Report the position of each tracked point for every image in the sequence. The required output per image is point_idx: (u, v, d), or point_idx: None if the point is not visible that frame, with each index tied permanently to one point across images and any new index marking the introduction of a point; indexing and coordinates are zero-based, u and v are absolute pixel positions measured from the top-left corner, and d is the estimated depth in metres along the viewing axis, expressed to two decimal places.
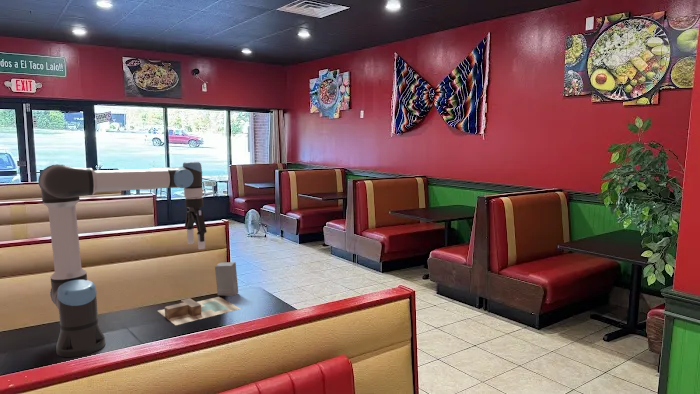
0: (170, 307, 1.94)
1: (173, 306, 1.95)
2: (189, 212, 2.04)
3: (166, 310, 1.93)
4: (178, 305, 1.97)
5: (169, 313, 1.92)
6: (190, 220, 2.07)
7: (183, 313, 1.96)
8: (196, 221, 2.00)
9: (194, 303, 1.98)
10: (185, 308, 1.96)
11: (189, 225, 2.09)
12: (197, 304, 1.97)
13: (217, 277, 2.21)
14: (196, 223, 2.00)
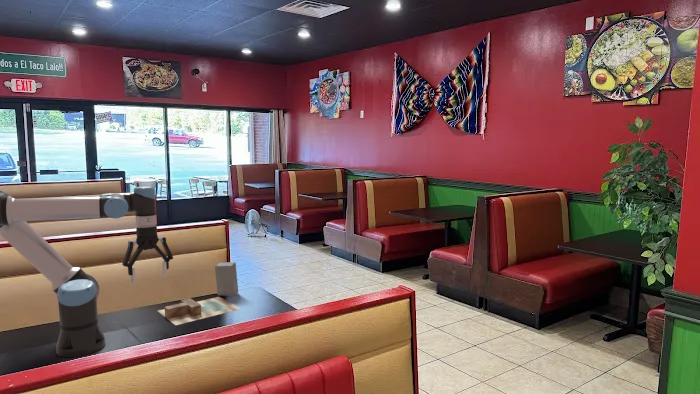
0: (170, 307, 1.94)
1: (173, 306, 1.95)
2: None
3: (166, 310, 1.93)
4: (178, 305, 1.97)
5: (169, 313, 1.92)
6: (156, 250, 1.90)
7: (183, 313, 1.96)
8: (135, 252, 1.85)
9: (194, 303, 1.98)
10: (185, 308, 1.96)
11: (161, 256, 1.91)
12: (197, 304, 1.97)
13: (217, 277, 2.21)
14: (134, 254, 1.85)
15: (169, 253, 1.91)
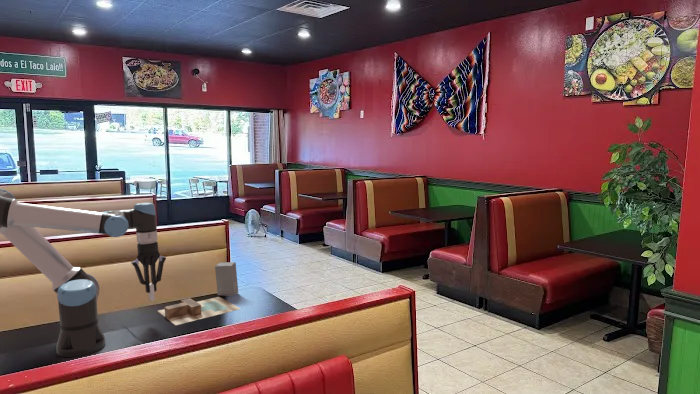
0: (170, 307, 1.94)
1: (173, 306, 1.95)
2: None
3: (166, 310, 1.93)
4: (178, 305, 1.97)
5: (169, 313, 1.92)
6: (150, 268, 1.89)
7: (183, 313, 1.96)
8: None
9: (194, 303, 1.98)
10: (185, 308, 1.96)
11: (151, 276, 1.89)
12: (197, 304, 1.97)
13: (217, 277, 2.21)
14: (144, 271, 1.88)
15: (160, 274, 1.89)
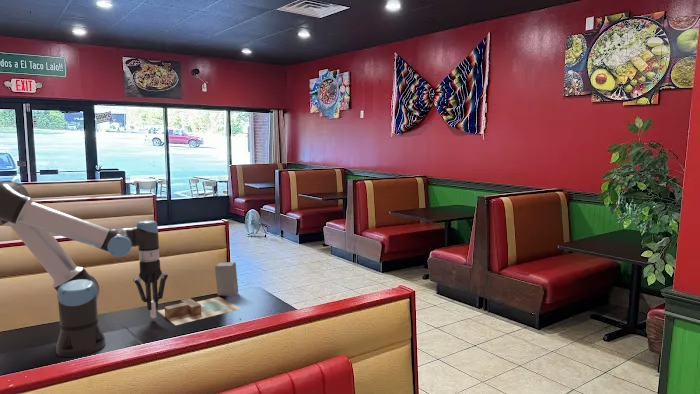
0: (170, 307, 1.94)
1: (173, 306, 1.95)
2: None
3: (166, 310, 1.93)
4: (178, 305, 1.97)
5: (169, 313, 1.92)
6: (152, 285, 1.90)
7: (183, 313, 1.96)
8: None
9: (194, 303, 1.98)
10: (185, 308, 1.96)
11: (153, 293, 1.90)
12: (197, 304, 1.97)
13: (217, 277, 2.21)
14: (146, 289, 1.89)
15: (161, 292, 1.90)
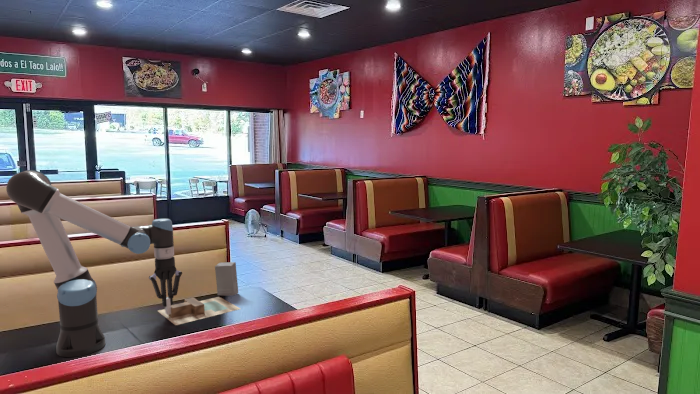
0: (173, 306, 1.95)
1: (176, 305, 1.96)
2: None
3: None
4: (182, 304, 1.98)
5: (172, 312, 1.93)
6: (167, 282, 1.94)
7: (186, 312, 1.97)
8: None
9: (197, 303, 1.99)
10: (188, 307, 1.97)
11: (168, 290, 1.94)
12: (200, 303, 1.98)
13: (217, 277, 2.21)
14: (161, 286, 1.92)
15: (176, 288, 1.94)
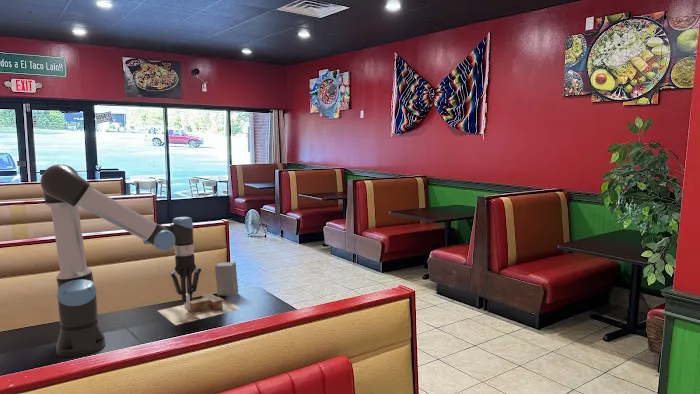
0: (192, 302, 2.00)
1: (195, 301, 2.01)
2: None
3: None
4: (200, 300, 2.03)
5: (192, 308, 1.98)
6: None
7: (205, 308, 2.02)
8: None
9: (215, 298, 2.04)
10: (207, 303, 2.02)
11: (187, 286, 1.99)
12: (218, 299, 2.03)
13: (217, 277, 2.21)
14: None
15: (195, 285, 1.99)
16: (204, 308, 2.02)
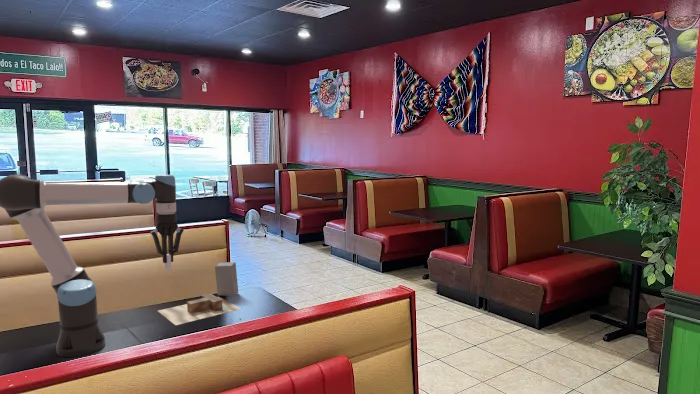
0: (192, 302, 2.00)
1: (195, 301, 2.01)
2: None
3: (189, 305, 1.99)
4: (200, 300, 2.03)
5: (192, 308, 1.98)
6: (168, 239, 1.93)
7: (205, 308, 2.02)
8: None
9: (215, 298, 2.04)
10: (207, 303, 2.02)
11: (168, 247, 1.93)
12: (218, 299, 2.03)
13: (217, 277, 2.21)
14: (162, 242, 1.92)
15: (177, 245, 1.94)
16: (204, 308, 2.02)
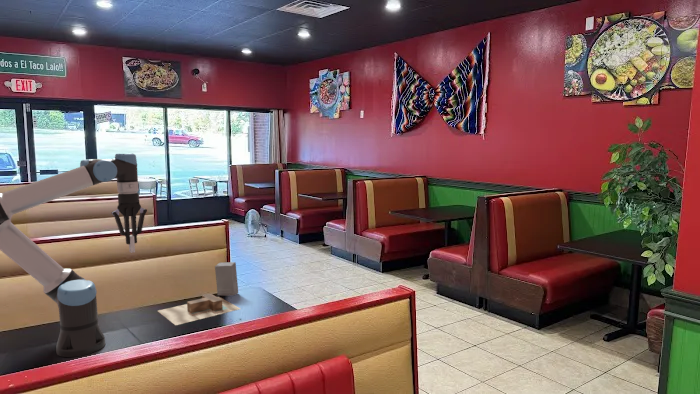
0: (192, 302, 2.00)
1: (195, 301, 2.01)
2: None
3: (189, 305, 1.99)
4: (200, 300, 2.03)
5: (192, 308, 1.98)
6: (131, 219, 1.88)
7: (205, 308, 2.02)
8: (124, 221, 1.86)
9: (215, 298, 2.04)
10: (207, 303, 2.02)
11: (132, 228, 1.88)
12: (218, 299, 2.03)
13: (217, 277, 2.21)
14: (124, 223, 1.87)
15: (140, 226, 1.88)
16: (204, 308, 2.02)
